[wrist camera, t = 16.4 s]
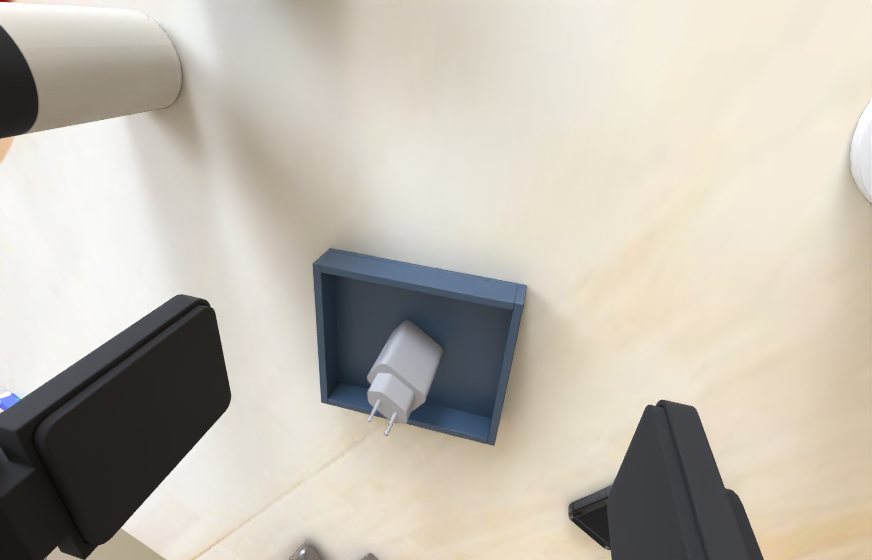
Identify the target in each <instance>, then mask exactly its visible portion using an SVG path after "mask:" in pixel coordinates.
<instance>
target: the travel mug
mask: <svg viewBox="0 0 872 560" xmlns="http://www.w3.org/2000/svg"><path fill="white" fill-rule="evenodd" d="M181 83H182V71H181V65H180V61H179V57H178V54H177V52H176V49H175V47H174V45H173V43H172V42H171V40H170V38H169V37H168V35H167V34H166V33H165V31H164V30H163V29H162V28H161V27H160V26H159V25H158V24H157V23H156V22H155V21H154V20H153V19H151V18H150V17H148V16H147V15H145V14H143V13H141V12H138V11H134V10H126V9H109V8H92V7H75V6H58V5H41V4H24V3H7V2H0V138H5V137H11V136H17V135H22V134H28V133H33V132H38V131H44V130H49V129H55V128H60V127H66V126H71V125H77V124H82V123H87V122H93V121H98V120H104V119H109V118H115V117H120V116H125V115H131V114H136V113H142V112H147V111H153V110H158V109H163V108H166V107H168V106H170V105H171V104H172V103H173V102H174V101H175V100H176V98H177V97H178V95H179V92H180V89H181Z"/></svg>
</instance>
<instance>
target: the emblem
mask: <svg viewBox="0 0 872 560" xmlns="http://www.w3.org/2000/svg"><path fill="white" fill-rule="evenodd" d="M289 560H321V558H320V556H319V555H318V553H317V552H316V550H315V549H314V548H313V547H311V546H307V544H306V543H304V544H303V545H302V546H301V547H300V548H299V549H298V550H297V552H296V553H295V554H294V555H293V556H292V557H291V558H290V559H289ZM361 560H376V558H375V557H374V556H373V555H371V554H368V555H366V556H365V557H364V558H363V559H361Z"/></svg>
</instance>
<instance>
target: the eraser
mask: <svg viewBox="0 0 872 560" xmlns="http://www.w3.org/2000/svg"><path fill="white" fill-rule="evenodd" d="M18 401H20V399H19V398H18V397H16V396H15V395H13V394H12V393H11V392H9V391H8V392H5V393H4V394H2V395H0V408H1V409H3V410H4V411H5V410H6V409H8V408H9V407H11V406H12V405H14V404H15V403H17V402H18Z"/></svg>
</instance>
